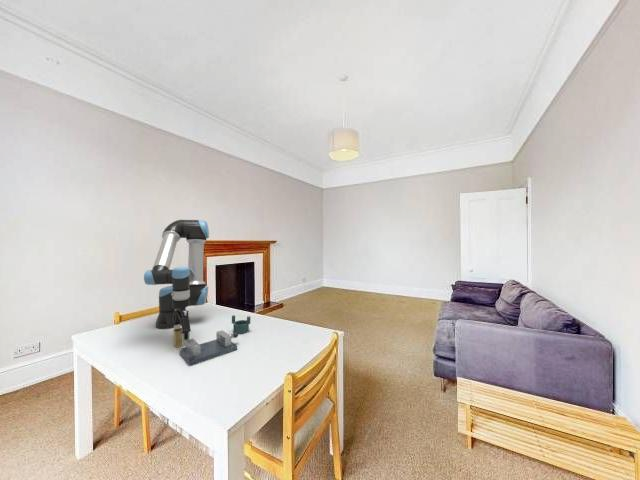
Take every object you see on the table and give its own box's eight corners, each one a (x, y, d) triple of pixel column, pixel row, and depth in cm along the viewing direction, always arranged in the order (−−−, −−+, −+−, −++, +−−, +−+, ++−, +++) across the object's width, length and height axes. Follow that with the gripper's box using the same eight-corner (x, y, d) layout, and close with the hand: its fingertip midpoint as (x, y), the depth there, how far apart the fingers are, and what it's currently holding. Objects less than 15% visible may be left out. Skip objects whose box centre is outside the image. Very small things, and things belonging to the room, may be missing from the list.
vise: (179, 354, 113) (179, 340, 113) (224, 340, 128) (224, 328, 128) (189, 366, 103) (189, 350, 103) (237, 349, 118) (237, 336, 118)
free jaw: (216, 340, 123) (216, 331, 123) (233, 335, 129) (233, 327, 129) (225, 347, 116) (225, 337, 116) (242, 341, 122) (242, 332, 122)
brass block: (173, 345, 122) (173, 329, 122) (186, 342, 126) (186, 326, 126) (175, 348, 119) (175, 332, 119) (189, 344, 123) (189, 328, 123)
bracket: (251, 332, 139) (251, 316, 139) (234, 335, 135) (234, 319, 135) (247, 327, 147) (247, 312, 147) (231, 330, 142) (231, 314, 142)
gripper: (165, 295, 128) (165, 336, 129) (180, 305, 111) (180, 352, 111) (181, 293, 134) (181, 332, 134) (198, 302, 116) (198, 347, 116)
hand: (181, 341), depth 122 cm, fingers open, 13 cm apart
